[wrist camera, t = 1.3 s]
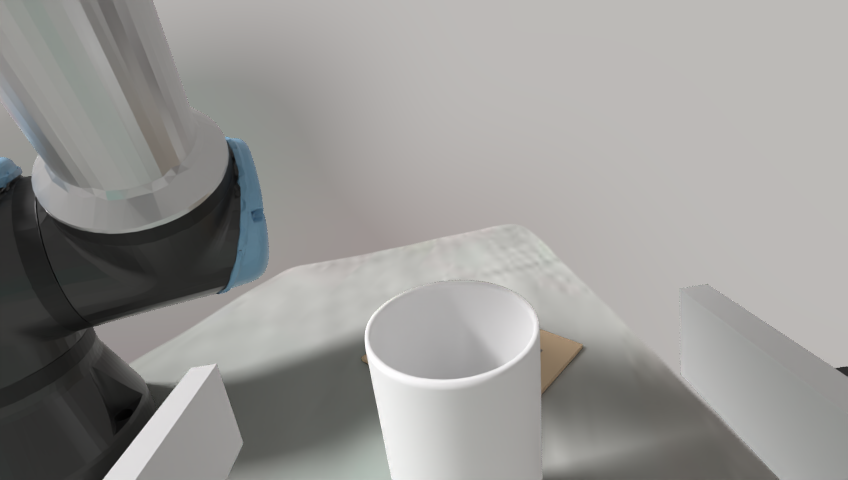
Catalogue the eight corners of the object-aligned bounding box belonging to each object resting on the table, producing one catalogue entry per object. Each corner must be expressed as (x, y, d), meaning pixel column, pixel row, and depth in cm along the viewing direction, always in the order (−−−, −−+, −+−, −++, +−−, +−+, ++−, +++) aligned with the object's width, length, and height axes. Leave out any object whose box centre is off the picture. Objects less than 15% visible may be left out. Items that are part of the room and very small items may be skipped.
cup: (503, 652, 24) (483, 411, 18) (379, 563, 29) (326, 346, 22) (565, 520, 30) (567, 300, 24) (453, 463, 35) (429, 267, 28)
